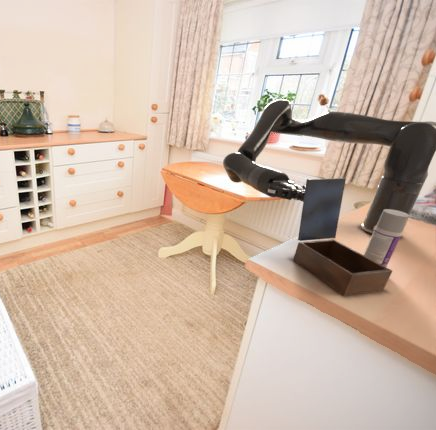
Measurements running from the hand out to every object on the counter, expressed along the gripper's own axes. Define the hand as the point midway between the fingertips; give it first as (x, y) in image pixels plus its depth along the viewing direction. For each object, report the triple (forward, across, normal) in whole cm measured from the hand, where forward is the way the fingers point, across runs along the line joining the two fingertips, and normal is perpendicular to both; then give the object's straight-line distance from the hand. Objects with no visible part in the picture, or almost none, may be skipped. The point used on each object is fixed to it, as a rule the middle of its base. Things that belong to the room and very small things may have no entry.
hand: (314, 200), depth 72 cm
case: (+10, -2, -15) cm, 18 cm away
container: (+9, -13, -15) cm, 22 cm away
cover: (+2, -1, -2) cm, 3 cm away
